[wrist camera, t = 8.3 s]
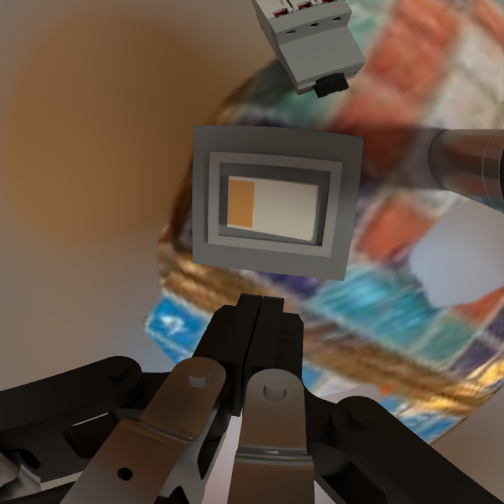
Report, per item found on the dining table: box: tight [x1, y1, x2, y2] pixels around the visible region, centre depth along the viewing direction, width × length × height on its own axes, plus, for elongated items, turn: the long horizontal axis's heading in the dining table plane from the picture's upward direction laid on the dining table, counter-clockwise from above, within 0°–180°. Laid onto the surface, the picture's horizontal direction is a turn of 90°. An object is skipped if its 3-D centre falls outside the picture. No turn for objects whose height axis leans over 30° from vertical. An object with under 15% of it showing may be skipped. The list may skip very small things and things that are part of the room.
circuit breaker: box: [251, 0, 366, 98], centre depth 25 cm, size 8×14×15 cm, turn 23°
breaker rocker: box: [227, 175, 319, 241], centre depth 32 cm, size 10×6×1 cm, turn 87°
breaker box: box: [192, 125, 364, 281], centre depth 36 cm, size 20×18×7 cm
